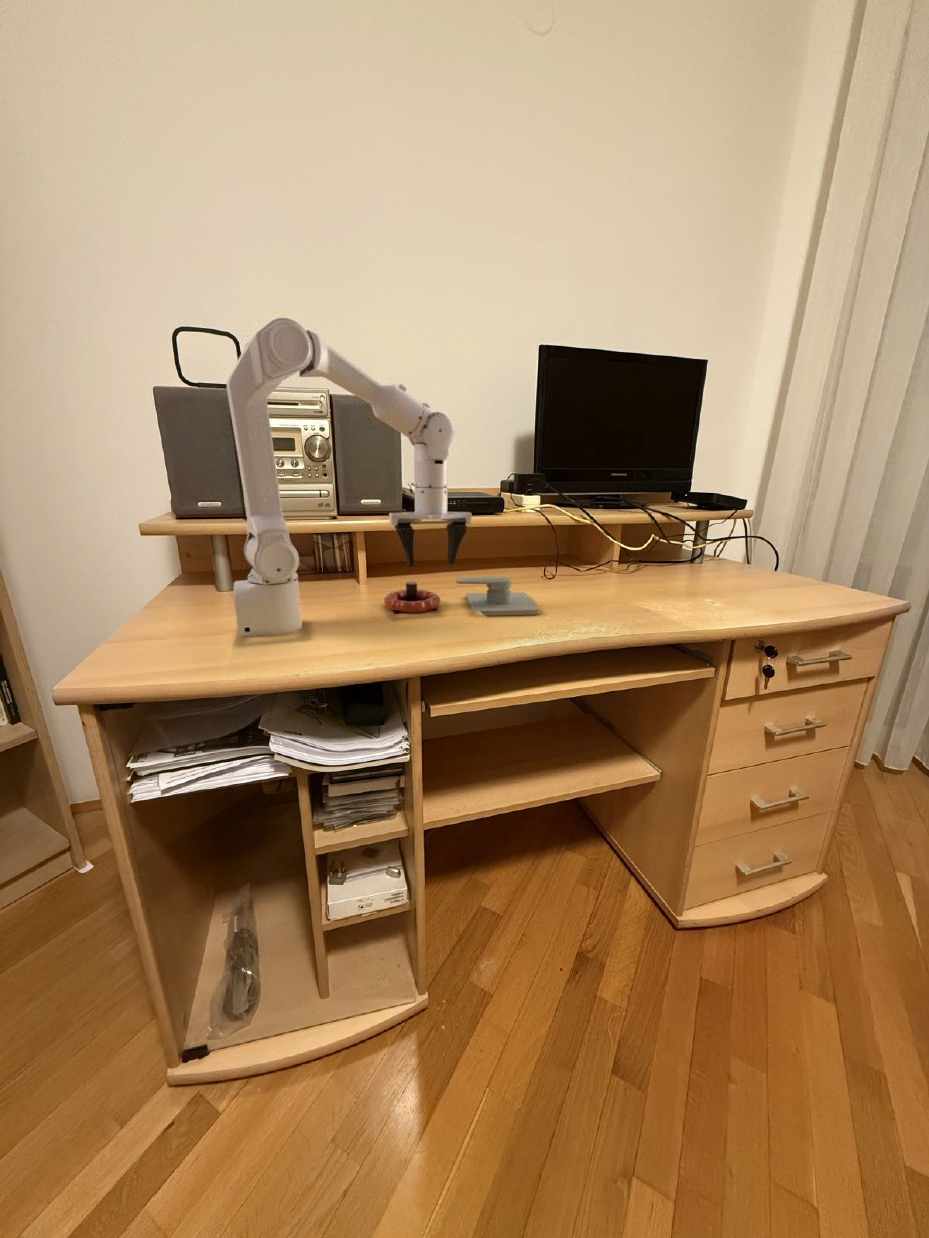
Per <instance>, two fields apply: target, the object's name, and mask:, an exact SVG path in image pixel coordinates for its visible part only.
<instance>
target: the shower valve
mask: <svg viewBox="0 0 929 1238" xmlns="http://www.w3.org/2000/svg"><path fill="white" fill-rule="evenodd" d="M455 583H456V584H458V585H486V588H487V591H486V592H468V593H466V594H465V601H467V602H468V603H469V604H470V606H471V608H472V610H473V611H475V612H480V613H481V614H482V615H484V616H485V617H491V616H492V617H496V616H532V615H533V616H535V615H539V614H540V607H539V606H538V605H537V604H536V602H534V601H533V600H532V598H531V597H530V596H529V595H528V594H527V593H526V592H523V591H522V592H521V591H520V592H519V591H518V592H517V591H515V592H514V591H513V592H511V590H510V589H511V588H512V579H511V578H510V577H506V576H477V577H456V578H455Z"/></svg>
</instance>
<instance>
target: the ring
mask: <svg viewBox="0 0 929 1238" xmlns="http://www.w3.org/2000/svg"><path fill="white" fill-rule="evenodd" d="M405 600H406V589H401V590H397V591H392V592H389V593H388V594H387V595H386V596H385V597H384V599H383V602H384V605H385V606H386V608H387V609H389V610H391V611H392V610H394V611H398V612H408V613H407V614H414V613H415V614H416V613H426V612H425V611H427V612H430V611H429V610H432V609H435V608H437V607H438V606H439V605H440V603H441V598H440V596H438V594H437V593H435V592H432V591H430V590H425V589H417V600H421V601H405Z"/></svg>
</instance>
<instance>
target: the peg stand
mask: <svg viewBox="0 0 929 1238" xmlns="http://www.w3.org/2000/svg"><path fill="white" fill-rule="evenodd" d="M405 590H406V600H405V601H421V600H417V590H418V582H415V581H408V582H406V583H405ZM391 611H392V613H393V614H394V615H400V614H409V613H408V612H398V611H394V610H391ZM437 611H439V609H438V608H437V607H436V608H435V609H432V610H429V611H425V612H424V613H426V612H437Z"/></svg>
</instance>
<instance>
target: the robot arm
mask: <svg viewBox="0 0 929 1238" xmlns="http://www.w3.org/2000/svg"><path fill="white" fill-rule="evenodd" d="M297 373H298V375H299V378H325V379H326V380H327V381H330V382H332V383H333V384H335V385H337V386H338V387H340V388H342V389H343V390H345V391H347V392H349V393H350V394H352V395H353V396H355V397H357V398H358V399H361V400H362V401H364V402H366V403H367V404H369V405H370V406H371V409H372V412H373V415H374V417H375V418H376V419H378V420H380V421H381V422H383V423H384V424H386V425H388V426H389V427H391V428H392V429H394V430H395V431H397V432H399V433H400V434H402V435H403V436H404V437H406V438H408V440H409V443H410V444H411V446H413V453H414V455H413V456H414V467H413V469H414V470H413V472H414V473H413V474H414V475H413V476H414V511H407V512H406V511H405V512H389V513H388V516H389V517H388V518H389V519H388V521H389V525H390V526H394V528H395V531H396V533H397V535H398V537H399V539H400V542H401V545H402V547H403V550H404V553H405V557H406V564H407V566H408V567H414V565H415V560H414V538H415V537H414V535H415V529H414V528H413V525H446V531H447V563H448V564H449V565H455V564H456V558H457V555H458V551H459V548H460V546H461V544H462V541H463V539H464V537H465V535H466V533H467V531H468V525H472V515H473V514H472V512H469V511H448V488H449V487H448V481H449V480H448V479H449V476H448V475H449V473H448V472H449V466H448V465H449V449H450V447H451V446H452V444H453V442H454V440H455V437H456V430H454V428H453V424H452V422H451V421H450V418H449V417H448V416H447V414H444V413H443V412H440V411H433V412H432V410H431V409H430V408H431V405H430V404H428V403H427V402H421V401H420V400H418V399H417V398H415V397H413V396H412V395H411V394H409V393H408V392H406V391H407V390H408V389H407V387H406V386H404V385H403V384H402V383H399V384H395V383H392V382H391V383H386V384H381V383H379V382H378V381H377V380H376V379H374V378H373V377H372V376H370V375H369V374H368V373H366V372H365V371H363V370H362V369H361V368H360V367H358V366H357V365H356V364H354V363H353V362H352V361H350V360H349V359H348V358H347V357H345V356H344V355H342V354H341V353H340V352H338V351H337V350H336V349H335V348H334V347H332V346H331V345H329V343H327V342H326V341H325V340H324V339H322V338H321V336H319V335H318V334H317V333H315V332H313V331H311V330H309V329H307V330H306V329H305V328H304V327H303V326H302V325H301V324H300V323H299V322H297V321H296V320H294V319H290V318H289V317H288V318H287V317H277V318H274V319H272V320H271V321H269V322H268V323H267V324H265V325H264V326H263V327H262V328H260V329H259V330H258V331H257V332H256V333H255V334H254V335H253V336H252V338H251V339H250V341H248V342H247V343H246V344H245V345H244V347H243V349H242V351H241V353H240V356H239V357H238V359H237V361H236V363H235V365H234V367H233V369H232V370H231V372H230V374H229V376H228V378H227V380H226V393H227V397H228V405H229V410H230V417H231V422H232V429H233V436H234V441H235V442H234V443H235V447H236V453H237V460H238V465H239V473H240V478H241V485H242V490H243V491H242V492H243V497H244V503H245V510H246V515H247V516H246V532H247V537H246V541H245V543H244V547H243V554H244V558H245V560H246V562H247V563H248V564H249V565H250V566H251V567H252V568H251V569H250V572H249V573H248V574H247V579H245V580H236V581H234V582H233V600H234V601H233V602H234V608H235V617H236V619H235V621H236V627H237V629H238V630H237V631H238V637H239V638H245V637H246V638H247V637H257V636H282V635H288V634H292V633H295V632H297V631H299V630H300V629H301V628H302V627H303V618H302V607H301V596H300V586H299V577H298V576H299V574H298V572H297V570H298V568H299V565H300V556H299V552H298V551H297V549H296V548H295V546H294V545H293V543H292V541H291V538H290V533H289V528H288V526H287V523H286V520H285V517H284V513H283V506H282V500H281V493H280V485H279V479H278V471H277V463H276V456H275V451H274V441H273V436H272V429H271V421H270V413H269V406H268V398H269V396H270V395H271V394H272V393H274V391H275V390H276V389H277V388H278V387H279V386H280V385H281V384H282V382H283V381H285V380H286V379H288V378H290V377H291V376H294V375H295V374H297ZM246 628H249V630H246Z"/></svg>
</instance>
